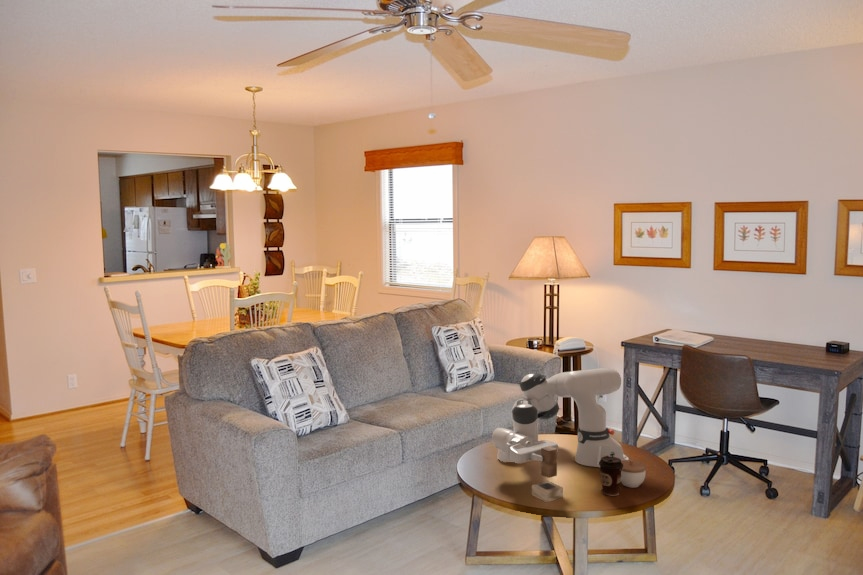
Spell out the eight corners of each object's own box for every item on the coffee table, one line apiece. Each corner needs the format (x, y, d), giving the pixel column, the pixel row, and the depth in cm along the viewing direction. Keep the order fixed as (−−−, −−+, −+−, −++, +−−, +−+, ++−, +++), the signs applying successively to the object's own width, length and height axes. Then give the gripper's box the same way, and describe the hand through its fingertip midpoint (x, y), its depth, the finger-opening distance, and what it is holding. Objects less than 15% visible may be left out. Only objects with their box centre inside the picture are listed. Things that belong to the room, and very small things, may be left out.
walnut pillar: (549, 472, 252) (549, 446, 251) (556, 475, 248) (556, 448, 247) (541, 474, 249) (541, 448, 249) (548, 478, 246) (548, 451, 245)
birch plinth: (548, 490, 256) (548, 480, 256) (562, 498, 250) (562, 487, 249) (531, 495, 252) (531, 485, 252) (546, 503, 245) (546, 492, 245)
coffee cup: (607, 499, 247) (608, 464, 246) (593, 490, 255) (594, 457, 253) (627, 495, 251) (627, 460, 249) (612, 487, 258) (613, 453, 257)
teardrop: (519, 453, 297) (519, 426, 295) (526, 462, 286) (525, 434, 284) (494, 454, 295) (494, 427, 294) (500, 463, 284) (500, 435, 283)
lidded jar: (642, 492, 253) (642, 467, 252) (613, 486, 258) (613, 462, 257) (648, 482, 262) (648, 458, 262) (620, 477, 268) (620, 454, 267)
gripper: (543, 449, 266) (568, 459, 255) (502, 460, 255) (527, 471, 243) (543, 434, 265) (569, 443, 254) (502, 444, 254) (528, 454, 243)
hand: (548, 457), depth 248 cm, fingers closed on walnut pillar, 4 cm apart
